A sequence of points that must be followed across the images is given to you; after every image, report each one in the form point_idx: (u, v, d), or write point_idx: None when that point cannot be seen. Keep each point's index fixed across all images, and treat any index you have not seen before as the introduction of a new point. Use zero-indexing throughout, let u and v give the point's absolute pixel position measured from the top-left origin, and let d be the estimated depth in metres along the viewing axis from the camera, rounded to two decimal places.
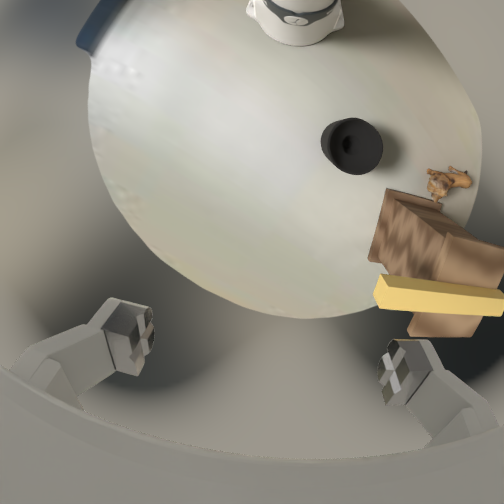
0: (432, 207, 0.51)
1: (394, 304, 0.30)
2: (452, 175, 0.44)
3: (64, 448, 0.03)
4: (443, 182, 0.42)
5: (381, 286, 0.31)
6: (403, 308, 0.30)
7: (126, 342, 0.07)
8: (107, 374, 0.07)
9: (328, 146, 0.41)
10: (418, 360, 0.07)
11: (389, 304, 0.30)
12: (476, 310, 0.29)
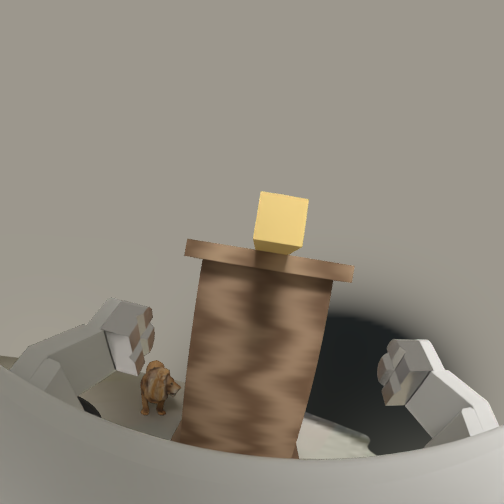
0: None
1: None
2: None
3: (64, 448, 0.03)
4: (150, 371, 0.34)
5: (272, 217, 0.17)
6: None
7: (126, 342, 0.07)
8: (107, 374, 0.07)
9: None
10: (419, 360, 0.07)
11: None
12: None
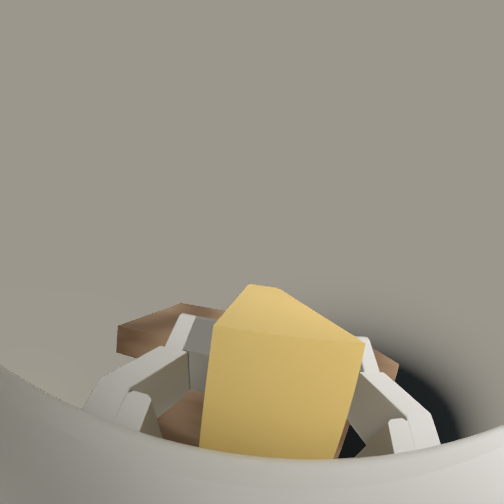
0: None
1: (313, 325, 0.07)
2: None
3: (64, 448, 0.03)
4: None
5: (251, 405, 0.05)
6: (318, 318, 0.08)
7: None
8: (182, 395, 0.07)
9: None
10: None
11: (322, 330, 0.06)
12: None
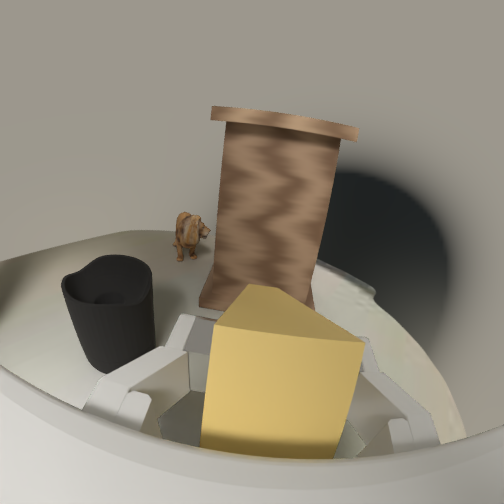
0: None
1: (313, 324, 0.07)
2: (178, 224, 0.50)
3: (64, 448, 0.03)
4: (184, 219, 0.45)
5: (251, 404, 0.05)
6: (318, 317, 0.08)
7: None
8: (182, 395, 0.07)
9: (90, 305, 0.21)
10: None
11: (322, 329, 0.06)
12: (274, 290, 0.22)
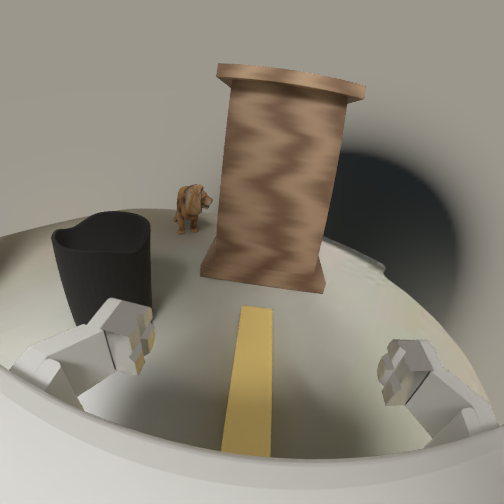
0: None
1: None
2: None
3: (64, 448, 0.03)
4: (186, 189, 0.44)
5: None
6: None
7: (126, 342, 0.07)
8: (107, 374, 0.07)
9: (79, 251, 0.18)
10: (419, 360, 0.07)
11: None
12: (261, 362, 0.21)
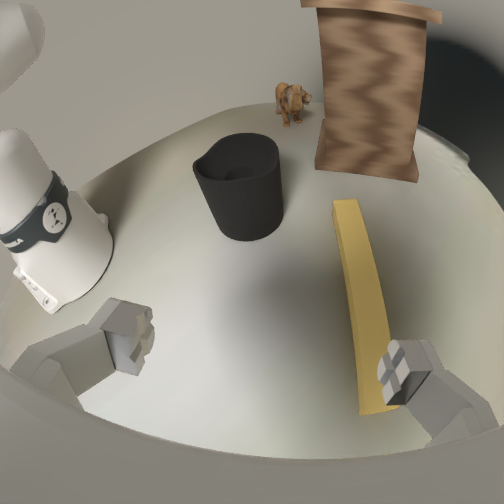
0: None
1: None
2: (279, 94, 0.47)
3: (64, 448, 0.03)
4: (286, 89, 0.43)
5: (372, 413, 0.20)
6: None
7: (126, 342, 0.07)
8: (107, 374, 0.07)
9: (228, 181, 0.27)
10: (419, 360, 0.07)
11: None
12: (363, 246, 0.28)
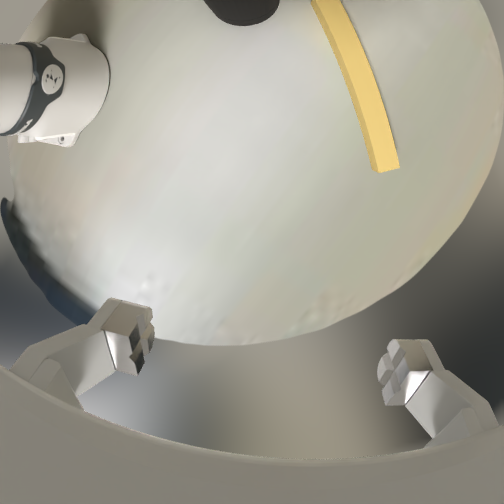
0: None
1: (391, 154, 0.30)
2: None
3: (64, 448, 0.03)
4: None
5: None
6: (391, 142, 0.29)
7: (126, 342, 0.07)
8: (107, 374, 0.07)
9: None
10: (419, 360, 0.07)
11: (393, 160, 0.30)
12: (353, 40, 0.24)
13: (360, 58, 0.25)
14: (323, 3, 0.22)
